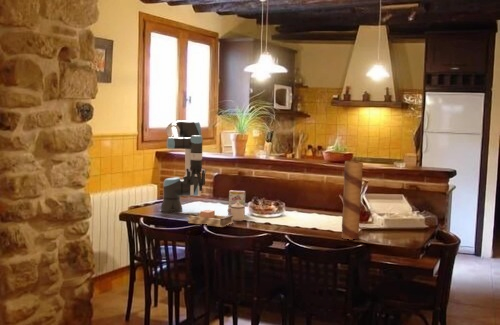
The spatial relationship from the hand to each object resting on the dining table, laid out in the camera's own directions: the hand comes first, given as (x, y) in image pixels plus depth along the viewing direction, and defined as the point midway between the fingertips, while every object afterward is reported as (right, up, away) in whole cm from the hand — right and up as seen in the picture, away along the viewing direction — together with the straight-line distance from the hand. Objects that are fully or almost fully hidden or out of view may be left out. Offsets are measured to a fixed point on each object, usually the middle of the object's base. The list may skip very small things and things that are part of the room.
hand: (195, 195), depth 370 cm
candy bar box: (+26, -15, +28) cm, 41 cm away
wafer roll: (+93, -23, -37) cm, 103 cm away
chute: (+10, -17, -3) cm, 20 cm away
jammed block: (+8, -16, -2) cm, 18 cm away
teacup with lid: (+25, -17, +11) cm, 32 cm away
